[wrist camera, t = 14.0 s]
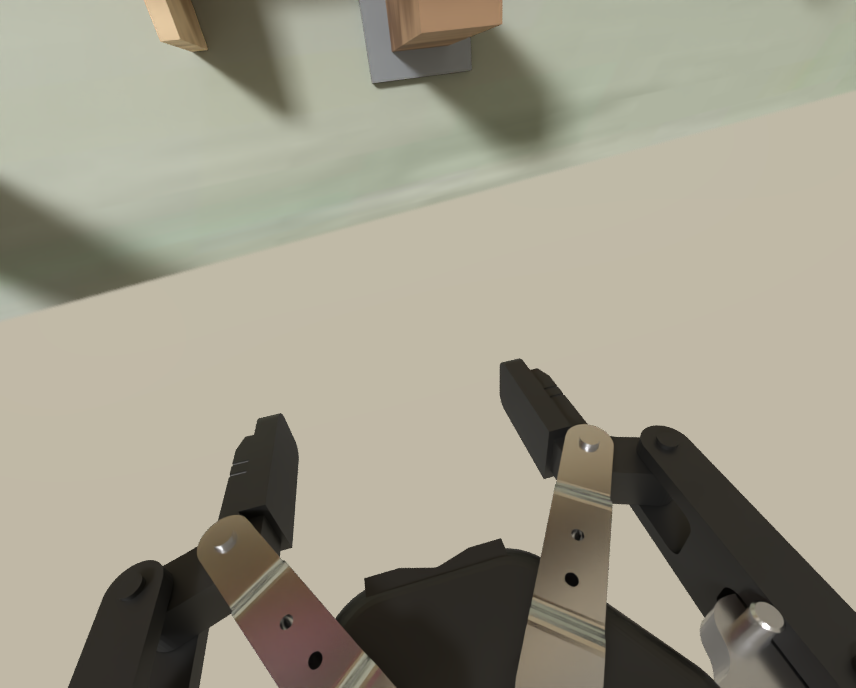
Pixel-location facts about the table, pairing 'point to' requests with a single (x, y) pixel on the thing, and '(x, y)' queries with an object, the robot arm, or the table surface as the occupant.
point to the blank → (439, 21)
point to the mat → (410, 61)
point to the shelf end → (177, 24)
